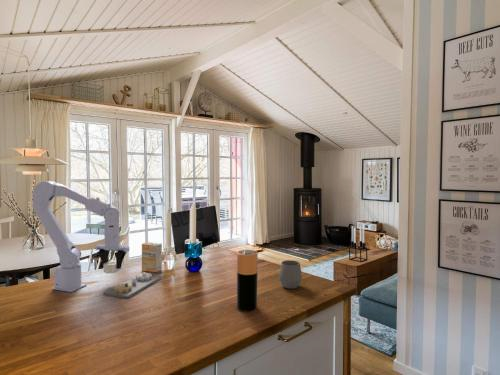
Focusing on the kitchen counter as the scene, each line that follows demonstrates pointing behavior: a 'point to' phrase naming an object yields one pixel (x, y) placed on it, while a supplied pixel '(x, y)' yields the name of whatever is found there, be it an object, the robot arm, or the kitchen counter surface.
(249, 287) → the battery
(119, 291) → the gear board
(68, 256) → the robot arm
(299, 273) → the cup
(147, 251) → the supplement box
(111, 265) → the loose gear
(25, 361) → the kitchen counter surface
